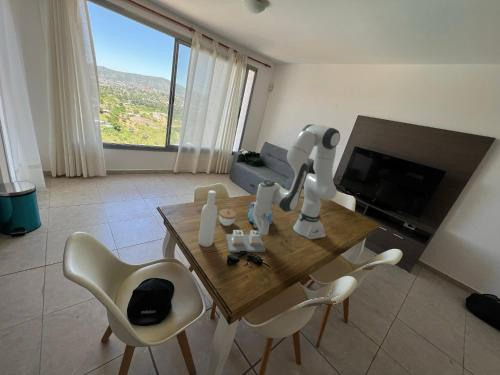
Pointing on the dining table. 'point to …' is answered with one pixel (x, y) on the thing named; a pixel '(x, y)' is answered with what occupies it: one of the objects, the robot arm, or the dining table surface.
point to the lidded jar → (227, 217)
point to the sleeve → (254, 238)
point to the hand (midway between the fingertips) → (257, 231)
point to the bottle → (208, 221)
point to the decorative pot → (252, 217)
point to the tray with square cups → (244, 244)
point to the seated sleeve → (237, 238)
